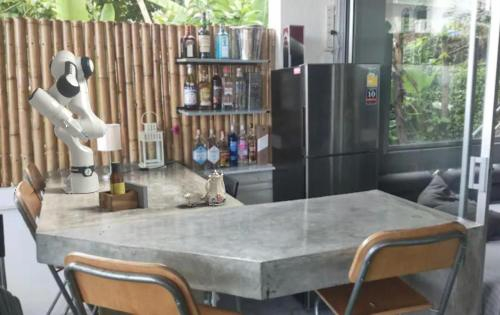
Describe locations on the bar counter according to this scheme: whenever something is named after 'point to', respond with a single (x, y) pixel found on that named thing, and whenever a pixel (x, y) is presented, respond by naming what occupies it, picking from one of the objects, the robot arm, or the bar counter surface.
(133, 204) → the wooden box
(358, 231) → the bar counter surface
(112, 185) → the sauce bottle
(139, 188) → the backstop wall
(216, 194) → the chinaware
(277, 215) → the bar counter surface
